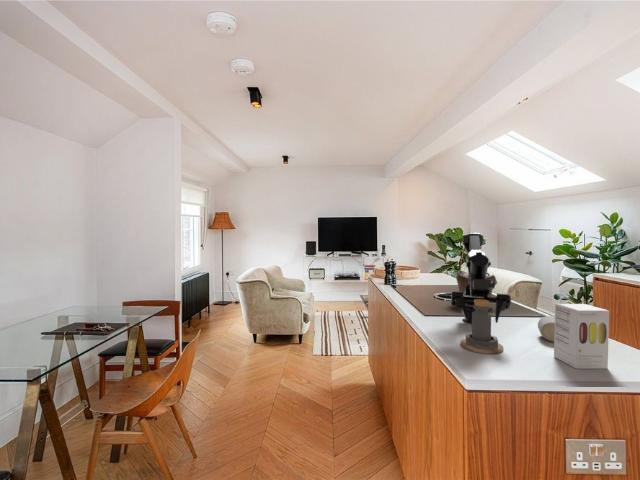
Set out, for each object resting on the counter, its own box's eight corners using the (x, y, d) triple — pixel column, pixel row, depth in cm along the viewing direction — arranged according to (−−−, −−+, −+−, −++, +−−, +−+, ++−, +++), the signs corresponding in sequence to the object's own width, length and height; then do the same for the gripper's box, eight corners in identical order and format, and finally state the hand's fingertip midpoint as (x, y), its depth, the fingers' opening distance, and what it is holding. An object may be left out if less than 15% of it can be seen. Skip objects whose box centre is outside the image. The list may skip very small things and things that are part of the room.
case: (504, 309, 164) (504, 273, 164) (464, 309, 164) (463, 273, 164) (486, 301, 182) (486, 269, 181) (450, 302, 182) (450, 269, 182)
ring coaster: (479, 338, 120) (480, 329, 120) (512, 350, 108) (512, 340, 108) (452, 343, 115) (452, 334, 115) (483, 356, 103) (483, 346, 103)
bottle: (470, 340, 115) (470, 298, 115) (488, 342, 114) (488, 299, 113) (473, 346, 110) (474, 301, 109) (492, 348, 108) (493, 302, 108)
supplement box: (575, 369, 93) (576, 310, 93) (552, 356, 103) (553, 303, 102) (609, 369, 93) (610, 310, 93) (583, 356, 103) (584, 302, 102)
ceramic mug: (540, 341, 117) (541, 319, 116) (537, 334, 124) (538, 314, 124) (577, 346, 112) (578, 324, 112) (572, 339, 119) (572, 318, 119)
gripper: (451, 269, 119) (452, 306, 109) (510, 270, 113) (516, 310, 103) (450, 286, 127) (451, 323, 117) (505, 289, 120) (511, 328, 111)
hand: (481, 321), depth 112 cm, fingers open, 9 cm apart
